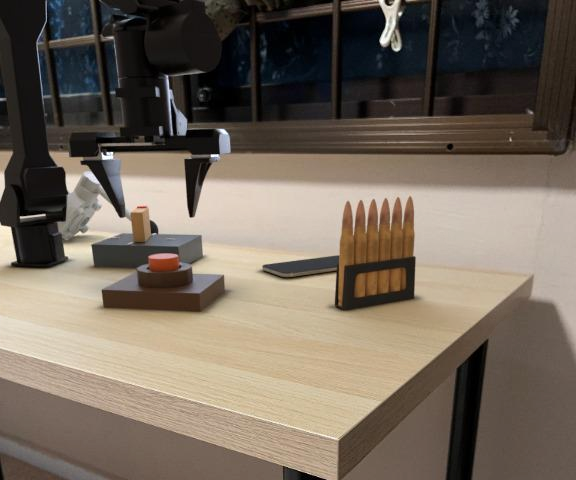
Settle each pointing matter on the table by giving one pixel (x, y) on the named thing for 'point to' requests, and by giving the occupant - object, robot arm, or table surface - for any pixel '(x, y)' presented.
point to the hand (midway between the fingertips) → (157, 217)
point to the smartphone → (303, 266)
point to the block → (140, 224)
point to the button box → (164, 290)
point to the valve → (86, 207)
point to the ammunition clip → (376, 256)
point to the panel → (145, 249)
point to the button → (163, 262)
